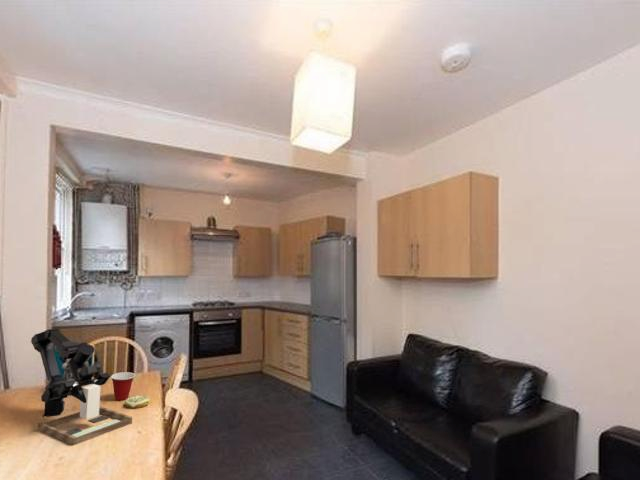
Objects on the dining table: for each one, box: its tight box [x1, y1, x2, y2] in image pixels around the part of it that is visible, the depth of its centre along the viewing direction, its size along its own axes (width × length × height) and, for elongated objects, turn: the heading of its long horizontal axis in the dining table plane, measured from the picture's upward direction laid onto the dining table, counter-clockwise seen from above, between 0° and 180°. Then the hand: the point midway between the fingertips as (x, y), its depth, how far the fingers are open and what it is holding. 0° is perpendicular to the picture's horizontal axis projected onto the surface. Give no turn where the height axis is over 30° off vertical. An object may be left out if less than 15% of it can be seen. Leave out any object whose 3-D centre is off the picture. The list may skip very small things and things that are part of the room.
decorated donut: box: [124, 394, 150, 409], centre depth 178 cm, size 10×11×4 cm
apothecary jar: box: [61, 358, 90, 394], centre depth 194 cm, size 12×12×18 cm
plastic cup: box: [110, 371, 136, 402], centre depth 185 cm, size 11×11×12 cm
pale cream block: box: [79, 384, 102, 420], centre depth 153 cm, size 5×5×12 cm
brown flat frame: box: [37, 405, 133, 446], centre depth 153 cm, size 26×24×2 cm
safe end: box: [73, 419, 120, 437], centre depth 149 cm, size 8×21×1 cm, turn 151°
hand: (92, 400), depth 152 cm, fingers closed on pale cream block, 5 cm apart
